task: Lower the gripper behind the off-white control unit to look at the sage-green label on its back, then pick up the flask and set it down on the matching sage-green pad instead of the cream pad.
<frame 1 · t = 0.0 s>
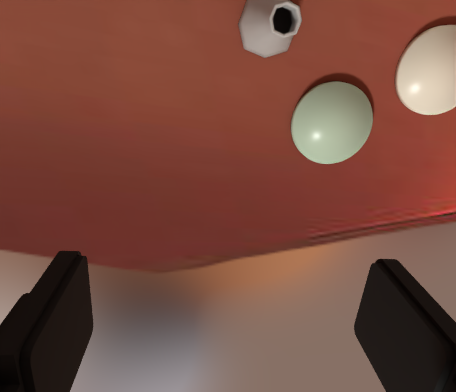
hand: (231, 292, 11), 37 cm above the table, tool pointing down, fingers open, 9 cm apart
cream pad: (435, 71, 46), on the table
green pad: (330, 123, 47), on the table
flask: (267, 26, 42), on the table
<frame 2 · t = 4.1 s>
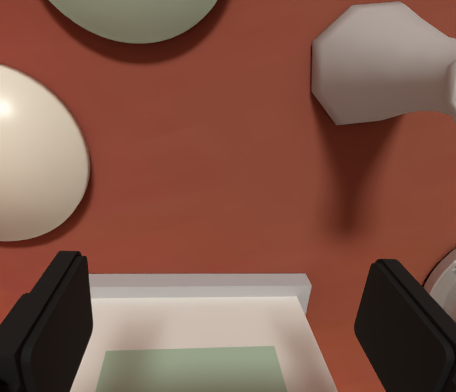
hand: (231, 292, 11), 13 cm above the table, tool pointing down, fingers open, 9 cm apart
control unit: (190, 314, 28), on the table
flask: (362, 66, 22), on the table
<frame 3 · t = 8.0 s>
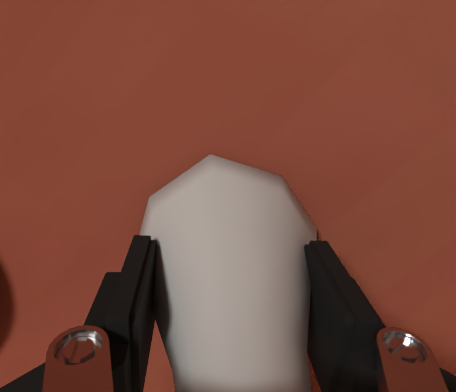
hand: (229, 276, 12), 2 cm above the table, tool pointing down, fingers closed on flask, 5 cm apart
flask: (224, 237, 15), on the table, touching gripper
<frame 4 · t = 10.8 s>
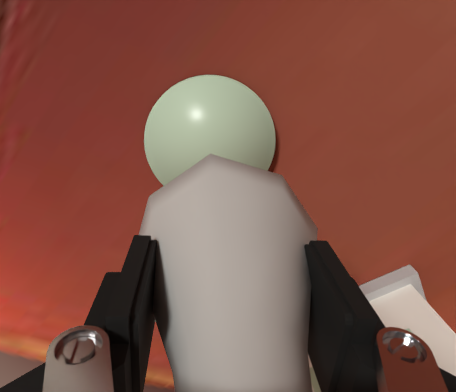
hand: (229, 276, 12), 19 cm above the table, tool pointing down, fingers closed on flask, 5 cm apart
control unit: (341, 322, 39), on the table
green pad: (210, 141, 30), on the table
flask: (224, 237, 15), point 17 cm above the table, touching gripper
when the fingers open (5 cm above the table, at t = 13.8 s): flask drops 2 cm, resting on green pad.
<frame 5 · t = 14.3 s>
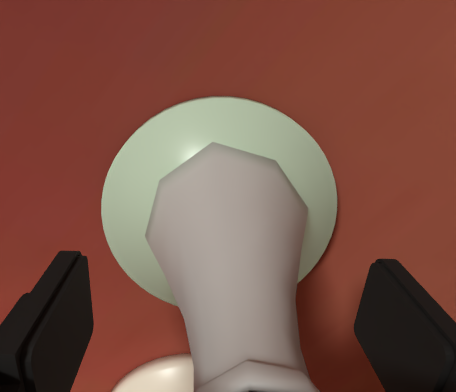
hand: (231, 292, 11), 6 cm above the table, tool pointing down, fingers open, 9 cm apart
green pad: (220, 210, 17), on the table
flask: (226, 217, 16), point 1 cm above the table, touching green pad
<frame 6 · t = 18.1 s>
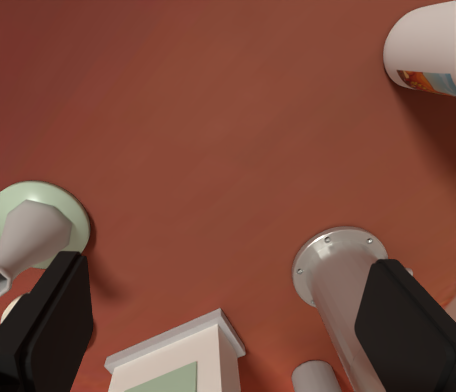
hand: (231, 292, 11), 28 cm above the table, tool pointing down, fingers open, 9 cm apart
control unit: (176, 351, 50), on the table
milk bottle: (415, 49, 36), on the table
green pad: (41, 224, 41), on the table
bottle: (311, 374, 54), on the table
flask: (40, 227, 40), point 1 cm above the table, touching green pad
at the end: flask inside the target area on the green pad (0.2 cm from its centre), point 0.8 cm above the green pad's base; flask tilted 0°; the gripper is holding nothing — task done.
